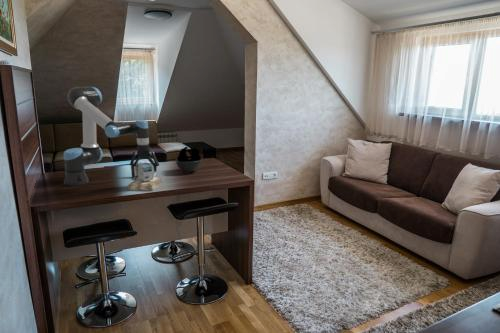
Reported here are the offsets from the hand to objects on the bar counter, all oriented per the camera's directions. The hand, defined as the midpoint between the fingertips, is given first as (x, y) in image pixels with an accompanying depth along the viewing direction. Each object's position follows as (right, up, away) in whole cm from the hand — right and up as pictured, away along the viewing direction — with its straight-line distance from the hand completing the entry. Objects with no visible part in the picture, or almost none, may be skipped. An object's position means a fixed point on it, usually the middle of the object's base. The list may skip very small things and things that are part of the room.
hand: (145, 176), depth 227 cm
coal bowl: (+22, +2, +40) cm, 46 cm away
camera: (-9, -2, +22) cm, 24 cm away
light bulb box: (0, -2, 0) cm, 2 cm away
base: (0, -7, +2) cm, 7 cm away
